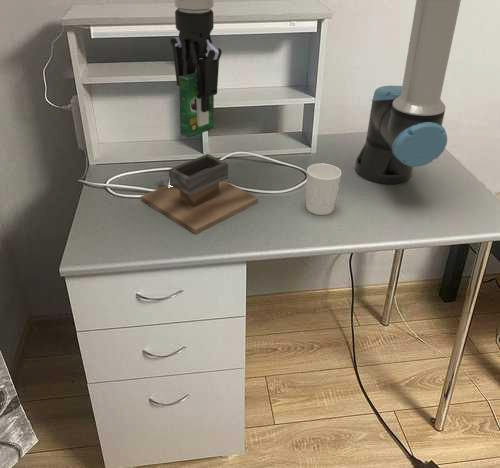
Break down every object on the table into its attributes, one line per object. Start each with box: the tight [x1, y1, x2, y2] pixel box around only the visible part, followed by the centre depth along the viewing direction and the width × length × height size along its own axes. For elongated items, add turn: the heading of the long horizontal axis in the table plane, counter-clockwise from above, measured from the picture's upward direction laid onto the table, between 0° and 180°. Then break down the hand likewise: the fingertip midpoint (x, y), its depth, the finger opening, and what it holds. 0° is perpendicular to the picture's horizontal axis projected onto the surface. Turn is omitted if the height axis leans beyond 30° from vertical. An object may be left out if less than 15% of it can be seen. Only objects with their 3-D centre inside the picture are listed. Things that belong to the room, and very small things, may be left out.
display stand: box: [140, 153, 259, 235], centre depth 125 cm, size 20×20×10 cm
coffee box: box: [178, 71, 215, 139], centre depth 114 cm, size 8×3×13 cm, turn 137°
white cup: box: [305, 163, 342, 216], centre depth 124 cm, size 8×8×10 cm
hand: (197, 122), depth 116 cm, fingers closed on coffee box, 3 cm apart
